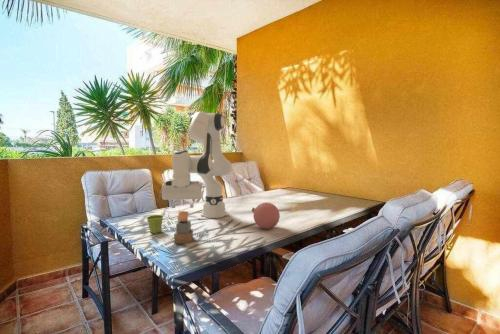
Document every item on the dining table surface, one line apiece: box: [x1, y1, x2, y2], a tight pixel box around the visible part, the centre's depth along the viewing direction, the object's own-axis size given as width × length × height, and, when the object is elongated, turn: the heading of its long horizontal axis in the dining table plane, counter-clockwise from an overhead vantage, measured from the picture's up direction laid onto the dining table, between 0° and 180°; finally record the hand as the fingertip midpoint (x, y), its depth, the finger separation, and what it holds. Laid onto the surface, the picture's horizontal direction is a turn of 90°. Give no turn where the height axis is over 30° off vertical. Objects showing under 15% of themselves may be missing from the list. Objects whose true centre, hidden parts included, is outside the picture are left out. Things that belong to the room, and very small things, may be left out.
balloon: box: [251, 202, 281, 230], centre depth 173 cm, size 15×20×15 cm
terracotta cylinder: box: [177, 210, 189, 222], centre depth 152 cm, size 5×5×5 cm
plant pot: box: [146, 214, 164, 234], centre depth 167 cm, size 9×9×9 cm
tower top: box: [175, 220, 192, 234], centre depth 151 cm, size 6×6×5 cm
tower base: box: [173, 228, 194, 244], centre depth 152 cm, size 8×8×5 cm
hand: (182, 207), depth 151 cm, fingers open, 8 cm apart
